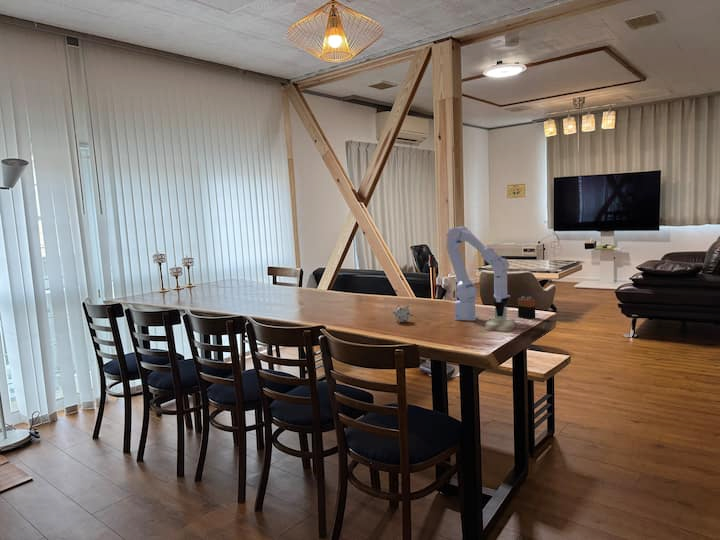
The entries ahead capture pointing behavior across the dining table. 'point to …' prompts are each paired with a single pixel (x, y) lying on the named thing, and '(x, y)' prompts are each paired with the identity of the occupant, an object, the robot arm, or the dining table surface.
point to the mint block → (503, 314)
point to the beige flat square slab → (500, 325)
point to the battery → (526, 307)
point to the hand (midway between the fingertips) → (500, 315)
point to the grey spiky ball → (402, 314)
